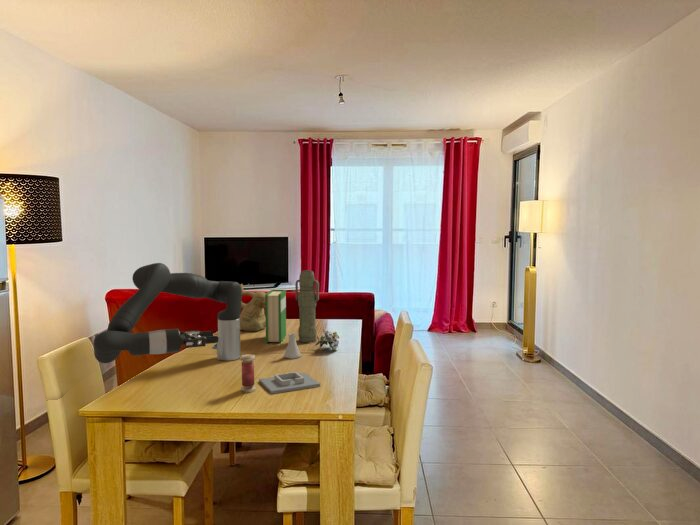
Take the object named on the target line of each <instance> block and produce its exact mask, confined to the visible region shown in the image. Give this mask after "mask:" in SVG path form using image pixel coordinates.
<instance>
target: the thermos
mask: <svg viewBox="0 0 700 525" xmlns="http://www.w3.org/2000/svg"><path fill="white" fill-rule="evenodd" d="M315 276H316V275H315V273H314V271H313V270H311V269H308V270H307V269H305V270H302V271H300V273H299V279H297V280H296V281H295V283H294V285H295V301H297V303H298V305H297V306H298V307H299V311H298V312H299V315H298V317H299V327H298V331H297V332H298V333H297V334H298V341H300V342H299V343H302V342H304V344H310V343H309V342H312V343H316V342H317V336H318V335H317V326H316V307H317V302H318V301H319V300H320V282H319V280H317V279H316V277H315ZM315 288H316V289H315ZM315 341H316V342H315Z"/></svg>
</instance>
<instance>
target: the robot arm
mask: <svg viewBox="0 0 700 525" xmlns="http://www.w3.org/2000/svg"><path fill="white" fill-rule="evenodd" d="M132 282H133V285H134V286H135V287H136V289H138V290H137V291H136V292H135V293H134V294H133V295H131V297H130V298H128V299H127V300H126V301H125V302H124V303H123V304H122V305H121V306H120V307H119V308H118V310H116V312H115V314H114V315H113V316H112V318H111V319H110V321H109V323H108V326H107V330H106V331H102V332H99V333H98V334H97V335H96V336H95V337H94V339H93V354H94V358H95V359H96V361H97V362H99V363H101V364H109V363H112V362H114V361H115V360H117V359H118V357H119V356H120V354H121V352H122V351H128V353H129V355H131V356H137V357H138V356H144V355H160V354H161V355H162V354H170V353H171V354H172V353H179V352H180V351H181V349H182V348H181V346H185V348H187V349H189V348H200V347H206V345H208V344H216V343H217V348H216V353H217V354H216V355H217V356H216V357H217V358H216V359H217V360H220V361H235V360H236V361H237V360H239V359H240V356H242V355H241V328H240V315H241V312H242V308H241V301H242V298H243V296H242V290H241V286H240V283H239V282H237V281H228V280H227V281H226V280H225V281H224V280H220V281H218V280H217V281H216V280H208V279H207V278H206V277H205V276H202V275H200V274H195V273H191V272H190V273H189V272H173V273H172V272H171V271H170V269H169V267H168V266H167V265H166V264H164V263H162V262H156V263H155V262H154V263H150V264H147V265H143V266H140V267H138V268H137V269H136V270H135V271H134V272H133V274H132ZM160 293H165V294H171V295H174V296H175V295H176V296H180V297H186V298H187V297H188V298H192V299H204V298H205V299H209V300H212V301H215V302H219V303H222V304H226V308H225V309H224V310H221V311H219V312H217V335H214V332H213V330H206V331H201V330H197V329H196V330H187V331H186V330H185V331H180V329H179V328H170V329H169V328H168V329H159V330H158V329H157V330H153V331H145V332H142V331H141V332H132V331H133V330H134V328H135V326H136V325H137V323H138V321H139V320H140V318H141V316H142V315H143V314H144V312H145V311H146V310H147V308H148V307H149V306H150V305H151V304H152V303H153V302H154V300H156V298H157V297H158V296H159V295H160ZM242 302H243V301H242Z"/></svg>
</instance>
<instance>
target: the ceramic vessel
mask: <svg viewBox="0 0 700 525" xmlns="http://www.w3.org/2000/svg"><path fill="white" fill-rule="evenodd" d="M239 284H240V283H239ZM243 285H244V284H243V283H241V284H240V286H241V290H242V297H245V296H248V297H251V298H252V299H251V300H250V301H249V302H247V303H245V302H243V301H241V313H240V331H243V330H244V331H245V332H259V331H261V329H262V330H263V329H266V314H265V294H267V292H265V291H262V290H259V291H257V292H254V291H249V290H244V286H243ZM244 331H243V332H244Z"/></svg>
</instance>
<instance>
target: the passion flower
mask: <svg viewBox="0 0 700 525" xmlns="http://www.w3.org/2000/svg"><path fill="white" fill-rule="evenodd" d="M322 330H323V331H322V332H323V333H324V335H321V337H320V338H319V336H318V335H317V336H316V340H318V341H316V342H315V346H318V345H319V346H318V348H319V349H318V350H319V351H320V350H321V348H322V347H323V345H325V346H326V345H329V348H331V349H332V351H333V352H337V351H338V347H339V344H340V343H339V342H340V341H339V339H340V336H339V335H338V333H337V331H333V332H331V331H328V330H325V329H322Z"/></svg>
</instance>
